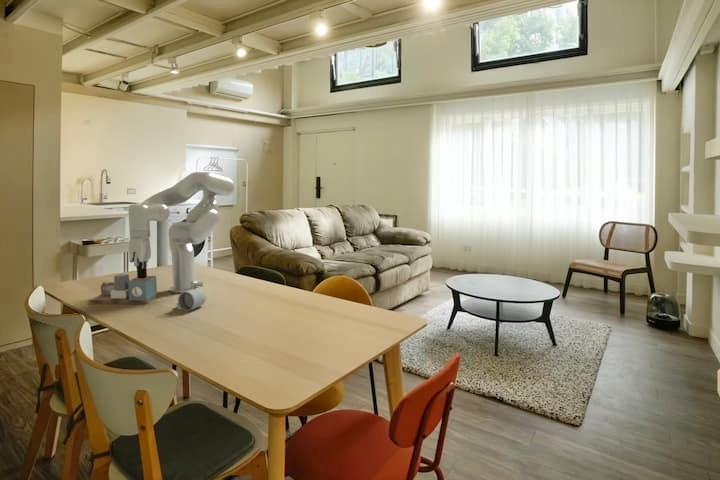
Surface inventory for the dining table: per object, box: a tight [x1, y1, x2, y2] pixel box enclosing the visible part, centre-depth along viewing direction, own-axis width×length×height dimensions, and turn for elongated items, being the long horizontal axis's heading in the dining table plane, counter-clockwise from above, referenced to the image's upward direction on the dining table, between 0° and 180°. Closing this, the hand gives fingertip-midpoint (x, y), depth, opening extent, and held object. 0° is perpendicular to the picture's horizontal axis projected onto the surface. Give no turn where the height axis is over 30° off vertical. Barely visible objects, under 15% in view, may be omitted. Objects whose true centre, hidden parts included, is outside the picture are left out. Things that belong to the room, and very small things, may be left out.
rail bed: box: [88, 281, 158, 305], centre depth 179 cm, size 23×10×7 cm, turn 93°
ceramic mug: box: [176, 288, 207, 312], centre depth 170 cm, size 11×8×8 cm
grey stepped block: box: [111, 273, 130, 299], centre depth 178 cm, size 6×7×9 cm
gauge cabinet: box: [128, 275, 158, 300], centre depth 179 cm, size 7×11×8 cm, turn 3°
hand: (142, 277), depth 178 cm, fingers closed
